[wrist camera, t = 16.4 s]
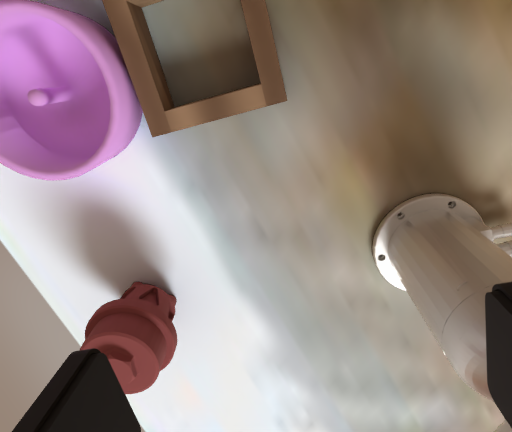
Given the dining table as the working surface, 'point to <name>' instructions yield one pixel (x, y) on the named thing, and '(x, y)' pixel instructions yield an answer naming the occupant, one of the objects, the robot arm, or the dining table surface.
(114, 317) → the mechanical component
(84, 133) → the container set
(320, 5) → the dining table surface
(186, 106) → the socket collar
